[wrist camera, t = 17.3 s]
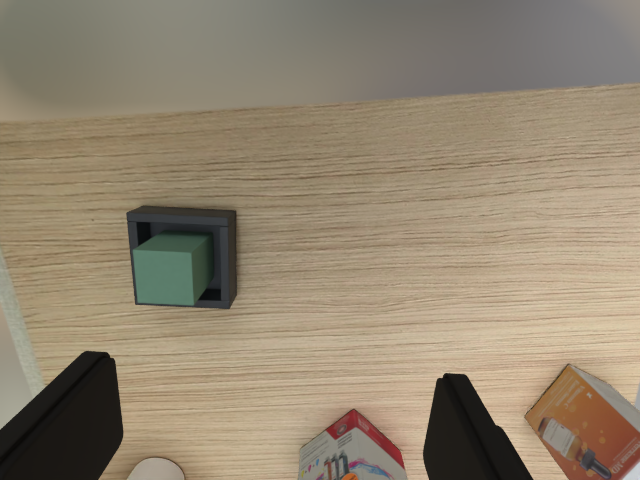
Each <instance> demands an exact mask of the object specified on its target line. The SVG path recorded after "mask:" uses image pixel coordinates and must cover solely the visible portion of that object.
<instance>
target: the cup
mask: <svg viewBox="0 0 640 480" xmlns="http://www.w3.org/2000/svg"><path fill="white" fill-rule="evenodd" d="M127 480H185V479H184V474H183V472H182V470H181V469H180V468H179V467H178V466H177V465H176V464H175V463H173V462H172V461H169V460H167V459H163V458H149V459H145V460H143V461H141V462H139V463H138V464H137V465H136V466H135V468H134V469H133V471H132V472H131V474H130V475H129V477H128V478H127Z"/></svg>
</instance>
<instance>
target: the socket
mask: <svg viewBox="0 0 640 480" xmlns="http://www.w3.org/2000/svg"><path fill="white" fill-rule="evenodd" d="M126 214H127V221H128V222H127V224H128V234H129V244H130V255H131V265H132V275H133V286H134V296H135V304H136V305H154V306H176V307H197V308H218V309H230V307H231V305H232V303H233V301H234V299H235V297H236V296H237V277H236V211H234V210H214V209H195V208H176V207H157V206H141V207H139V208H136V209H134V210H132V211H129V212H127V213H126ZM164 230H172V231H191V232H211V233H213V254H214V278H213V280H212V281H211V282H210V284H209V285H208V286H207V288H206V289H205V291H204V292H203V293H202V295H201V296H200V298H199V299H198V300H197V302H196V303H195V304H194V305H173V304H153V303H138V300H137V289H136V278H135V268H134V257H133V249H135V248H137V247H138V246H140V245H141V244H143V243H145V242H146V241H148V240H149V239H151V238H153V237H154V236H156V235H157V234H159V233H161V232H162V231H164Z"/></svg>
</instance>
